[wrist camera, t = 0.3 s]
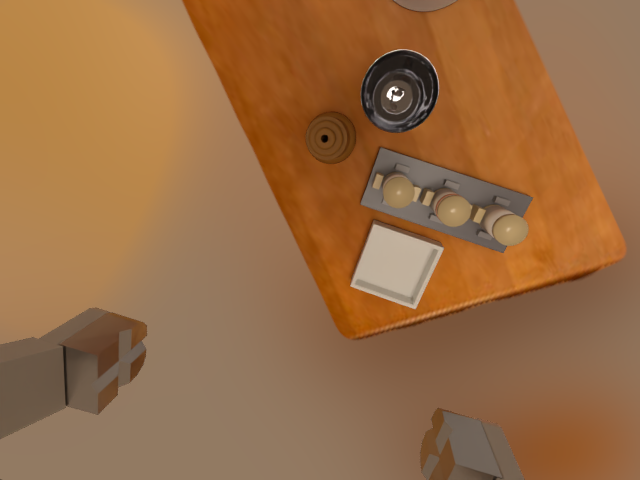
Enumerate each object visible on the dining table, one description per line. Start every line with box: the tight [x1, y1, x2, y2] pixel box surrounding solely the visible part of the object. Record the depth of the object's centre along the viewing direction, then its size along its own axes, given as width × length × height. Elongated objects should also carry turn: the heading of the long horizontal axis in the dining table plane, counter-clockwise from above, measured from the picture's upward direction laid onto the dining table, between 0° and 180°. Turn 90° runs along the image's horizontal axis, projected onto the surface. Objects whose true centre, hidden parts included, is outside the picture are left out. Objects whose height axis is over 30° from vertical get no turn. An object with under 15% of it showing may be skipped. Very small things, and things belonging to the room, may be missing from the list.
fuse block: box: [360, 147, 533, 253], centre depth 49 cm, size 9×23×4 cm, turn 73°
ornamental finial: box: [306, 112, 356, 164], centre depth 47 cm, size 8×8×8 cm
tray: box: [350, 220, 444, 309], centre depth 54 cm, size 11×11×3 cm
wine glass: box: [361, 50, 439, 133], centre depth 41 cm, size 8×8×15 cm
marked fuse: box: [430, 188, 471, 227], centre depth 46 cm, size 4×4×8 cm
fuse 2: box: [478, 204, 528, 246], centre depth 46 cm, size 4×4×8 cm
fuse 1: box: [382, 172, 415, 208], centre depth 47 cm, size 4×4×8 cm
